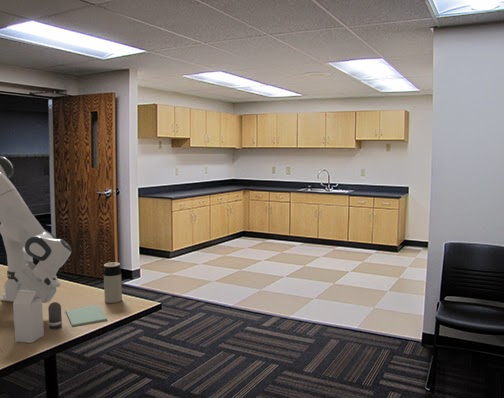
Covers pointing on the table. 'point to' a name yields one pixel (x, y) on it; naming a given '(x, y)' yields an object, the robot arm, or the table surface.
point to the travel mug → (112, 282)
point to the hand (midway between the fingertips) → (23, 297)
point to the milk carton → (28, 317)
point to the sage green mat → (86, 315)
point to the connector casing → (55, 316)
